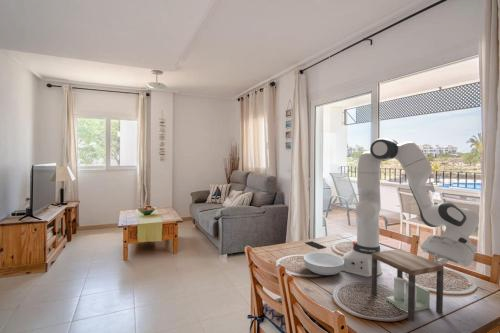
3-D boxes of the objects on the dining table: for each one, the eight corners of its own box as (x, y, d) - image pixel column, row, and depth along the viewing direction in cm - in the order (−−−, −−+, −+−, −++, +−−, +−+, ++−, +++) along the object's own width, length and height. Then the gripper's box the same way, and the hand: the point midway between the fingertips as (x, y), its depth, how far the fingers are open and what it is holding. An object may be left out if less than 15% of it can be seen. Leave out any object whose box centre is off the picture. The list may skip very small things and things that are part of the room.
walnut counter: (411, 321, 101) (412, 270, 100) (371, 295, 120) (371, 252, 119) (442, 313, 106) (443, 265, 105) (399, 289, 125) (400, 248, 124)
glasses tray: (408, 296, 119) (408, 274, 119) (429, 307, 110) (429, 284, 110) (386, 300, 116) (386, 278, 115) (406, 313, 106) (407, 289, 106)
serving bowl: (346, 282, 133) (347, 268, 133) (303, 278, 137) (303, 264, 137) (341, 265, 154) (341, 253, 153) (303, 262, 158) (303, 251, 158)
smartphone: (319, 248, 181) (304, 242, 194) (319, 249, 181) (304, 243, 194) (326, 247, 184) (312, 241, 198) (326, 248, 184) (312, 242, 198)
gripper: (427, 230, 130) (411, 252, 127) (474, 242, 110) (456, 269, 108) (433, 238, 131) (418, 261, 129) (481, 252, 112) (464, 279, 109)
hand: (436, 265), depth 118 cm, fingers closed
